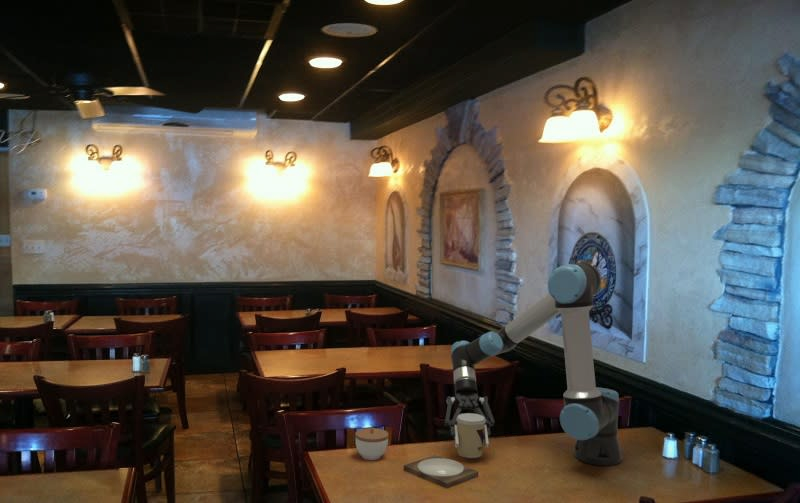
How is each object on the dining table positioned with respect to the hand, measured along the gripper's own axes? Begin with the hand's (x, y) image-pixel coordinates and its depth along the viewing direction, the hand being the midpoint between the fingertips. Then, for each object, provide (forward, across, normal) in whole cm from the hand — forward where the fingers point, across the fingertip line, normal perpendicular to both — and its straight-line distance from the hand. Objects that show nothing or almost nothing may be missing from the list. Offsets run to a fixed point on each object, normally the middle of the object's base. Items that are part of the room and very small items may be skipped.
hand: (471, 445), depth 222 cm
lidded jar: (0, +32, -8) cm, 33 cm away
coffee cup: (+1, 0, -5) cm, 5 cm away
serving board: (+10, +11, +2) cm, 15 cm away
